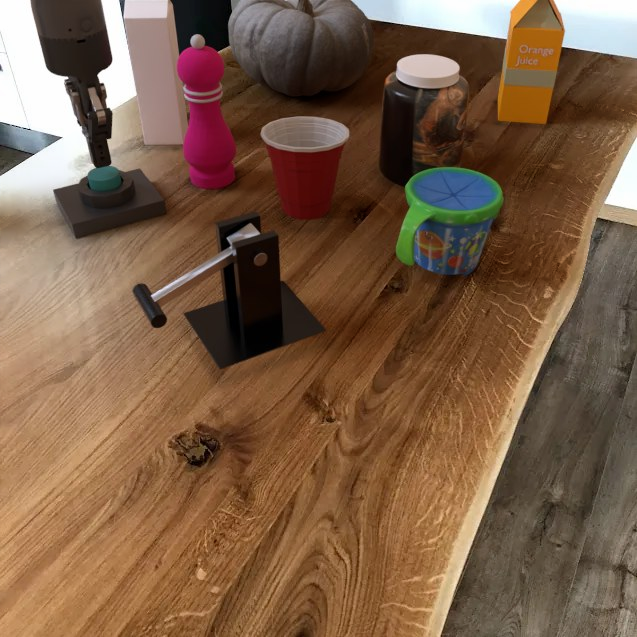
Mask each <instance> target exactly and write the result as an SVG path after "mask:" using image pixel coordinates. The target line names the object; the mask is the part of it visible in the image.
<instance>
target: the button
mask: <svg viewBox="0 0 637 637" xmlns="http://www.w3.org/2000/svg"><path fill="white" fill-rule="evenodd" d="M119 170H120V169H119V168H117V167H115V166H112V165H109V166H106V167H102V168H96V167H94V168H92V169H91V170H89V171H88V172H87V175H86V176H88V180H89V185H90V188H91V190H94V191H110V190H114V189H116V188H118V187H119V186H121V184H122V182H121V177H120V172H119Z"/></svg>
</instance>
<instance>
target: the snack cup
mask: <svg viewBox="0 0 637 637" xmlns="http://www.w3.org/2000/svg"><path fill="white" fill-rule="evenodd" d="M404 192H405V198H406V202H407V205H408V207H409V209H408V211H407V212H406V214H405V216H404V219H403V222H402V224H401V228H400V232H399V235H398V239H397V242H396V245H395V253H396V254H395V255H396V257H397V258H398V260H399V261H400V262H401V263H403V264H404V265H406V266H409V267H413V266H414V265H415V263H416V264H418V265H419V266H420V267H421V268H422V269H424V270H425V271H429V272H431V273H436V274H439V275H447V276H448V275H449V276H450V275H451V276H452V275H463V276H464V277H466V276H468V275H470V274H471V273H472V272H473V271H474V270H475V269H476V268H477V266H478V264H479V262H480V260H481V255H482V252H483V249H484V248H485V245H486V242H487V238H488V236H489V233H490V230H491V227H492V224H493V222H494V220H496V219H497V218H498V214H499V213H500V212H499V211H500V209H501V208H502V206H503V204H504V201H505V200H504V196H503V190H502V188H501V185H500V184H499V183H498V181H496V180H494V179H493V178H492V177H490V176H489V175H486V174H484V173H482V172H479V171H476V170H474V169H469V168H465V167H460V168H456V167H440V168H433V169H428V170H424V171H421V172H419V173H417V174H416V175H414V176H413V177H412V178H411V179H410V180H409V182H408V183H407V184H406V186H404Z"/></svg>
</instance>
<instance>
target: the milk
mask: <svg viewBox="0 0 637 637" xmlns="http://www.w3.org/2000/svg"><path fill="white" fill-rule="evenodd" d="M123 8H124V9H123V23H124V28H125V34H126V40H127V41H126V42H127V46H128V52H129V53H128V54H129V58H130V64H131V71H132V76H133V77H132V78H133V82H134V88H135V93H136V100H137V105H138V106H137V107H138V111H139V118H140V123H141V129H142V130H141V131H142V135H143V142H144V145H145V146H176V145H177V146H178V145H179V146H180V145H181V146H183V144H184V138H185V135H186V132H187V129H188V125H189V121H188V117H187V116H188V115H187V107H186V98H185V97H184V93H185V92H184V90H183V87H184V83H183V82H182V81H181V79H180V78H179V76H178V73H177V61H178V58H179V56H180V52H179V51H180V50H179V44H178V35H177V34H178V33H177V28H176V20H175V12H174V5H173V3H172V1H171V0H124V7H123Z"/></svg>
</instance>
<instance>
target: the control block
mask: <svg viewBox="0 0 637 637" xmlns="http://www.w3.org/2000/svg"><path fill="white" fill-rule="evenodd" d="M118 170H119V172H120V177H121V182H122V184H121V186H119V187H118V188H116V189H114V190H110V191H94V190H91V188H90V185H89V180H88V176H87V175H86V176H83V177H82V178H81V179H80V180H79V182H77V183H75V184H70V185H66V186H62V187H58V188H53V189H52V191H53V192H52V193H53V195H54V199H55V200H54V201H55V203H56V206H57V207H58V209H59V211H60V213H61V214H62V216H63V218H64V220H65V222H66V224H67V226H68V227H69V228H70V231H71V233H72V235H73V237H74V239H75V240H77V239H82V238H85V237H88V236H92V235H97V234H100V233H104V232H107V231H111V230H115V229H118V228H122V227H126V226H129V225H132V224H133V225H134V224H136V223H140V222H144V221H147V220H151V219H155V218H159V217H163V216H166V215H167V213H168V212H167V208H166V200H165V199H164V198H163V196H162V195H161V194H160V193H159V191H158V190H157V188H156V187H155V186H154V185H153V183H152V182H151V181H150V179H149V178H148V177H147V175H146V174H145V173H144V172H143V170H142V169H141V168H140V167H139V168H136V169H131V170H128V171H124V170H120V169H118Z"/></svg>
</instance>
